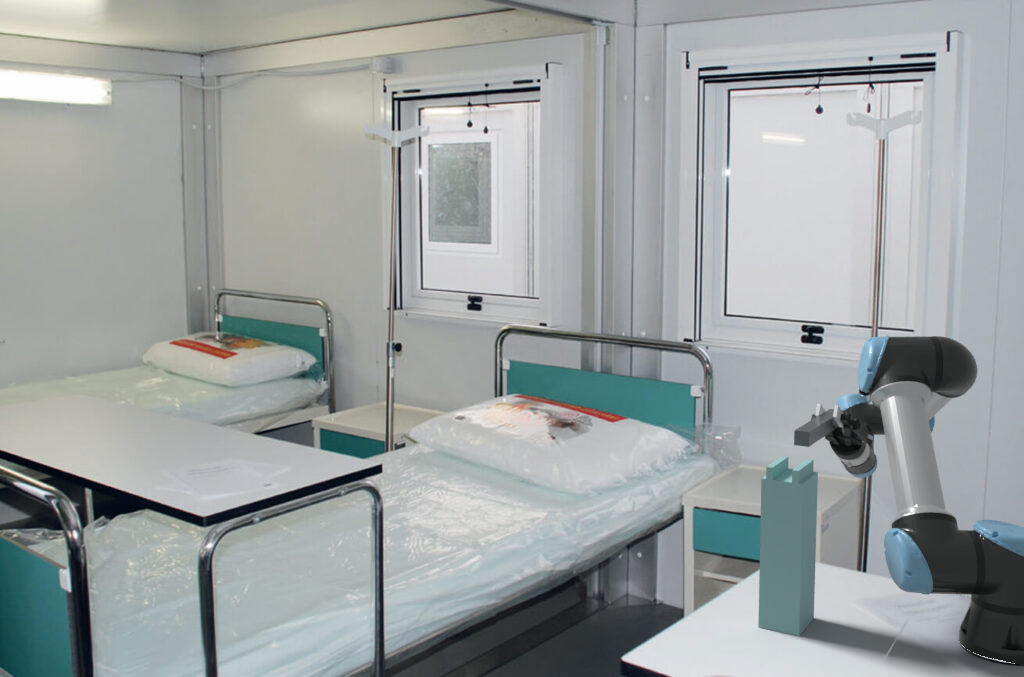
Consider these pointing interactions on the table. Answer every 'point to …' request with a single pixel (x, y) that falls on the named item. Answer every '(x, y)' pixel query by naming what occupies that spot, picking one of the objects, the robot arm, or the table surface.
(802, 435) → the steel bar
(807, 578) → the notched post
